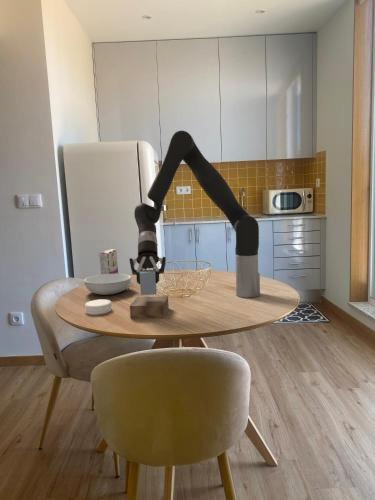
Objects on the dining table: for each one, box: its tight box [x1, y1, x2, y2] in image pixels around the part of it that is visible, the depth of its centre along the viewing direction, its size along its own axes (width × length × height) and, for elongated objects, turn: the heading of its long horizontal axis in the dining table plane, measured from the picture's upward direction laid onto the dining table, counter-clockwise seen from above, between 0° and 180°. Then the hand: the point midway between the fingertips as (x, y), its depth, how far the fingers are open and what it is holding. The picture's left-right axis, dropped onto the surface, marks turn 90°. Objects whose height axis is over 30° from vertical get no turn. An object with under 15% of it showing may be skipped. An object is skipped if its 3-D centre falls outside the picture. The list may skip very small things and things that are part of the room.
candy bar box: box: [98, 248, 119, 275], centre depth 195 cm, size 11×5×16 cm, turn 168°
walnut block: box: [129, 295, 170, 320], centre depth 143 cm, size 12×12×5 cm
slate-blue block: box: [139, 269, 157, 296], centre depth 142 cm, size 6×6×8 cm
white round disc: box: [84, 298, 113, 316], centre depth 149 cm, size 10×10×4 cm
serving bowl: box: [83, 273, 132, 296], centre depth 176 cm, size 21×21×7 cm
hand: (148, 282), depth 140 cm, fingers closed on slate-blue block, 5 cm apart
